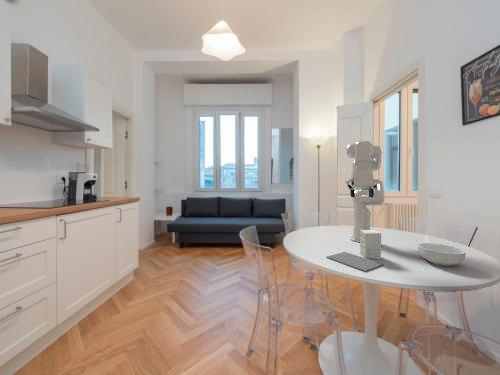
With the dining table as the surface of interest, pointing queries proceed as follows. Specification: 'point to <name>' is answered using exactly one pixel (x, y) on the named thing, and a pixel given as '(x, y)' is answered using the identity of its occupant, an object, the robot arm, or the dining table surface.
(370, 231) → the supplement box
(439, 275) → the dining table surface
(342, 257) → the mat
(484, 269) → the dining table surface
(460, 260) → the cereal bowl
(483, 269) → the dining table surface
